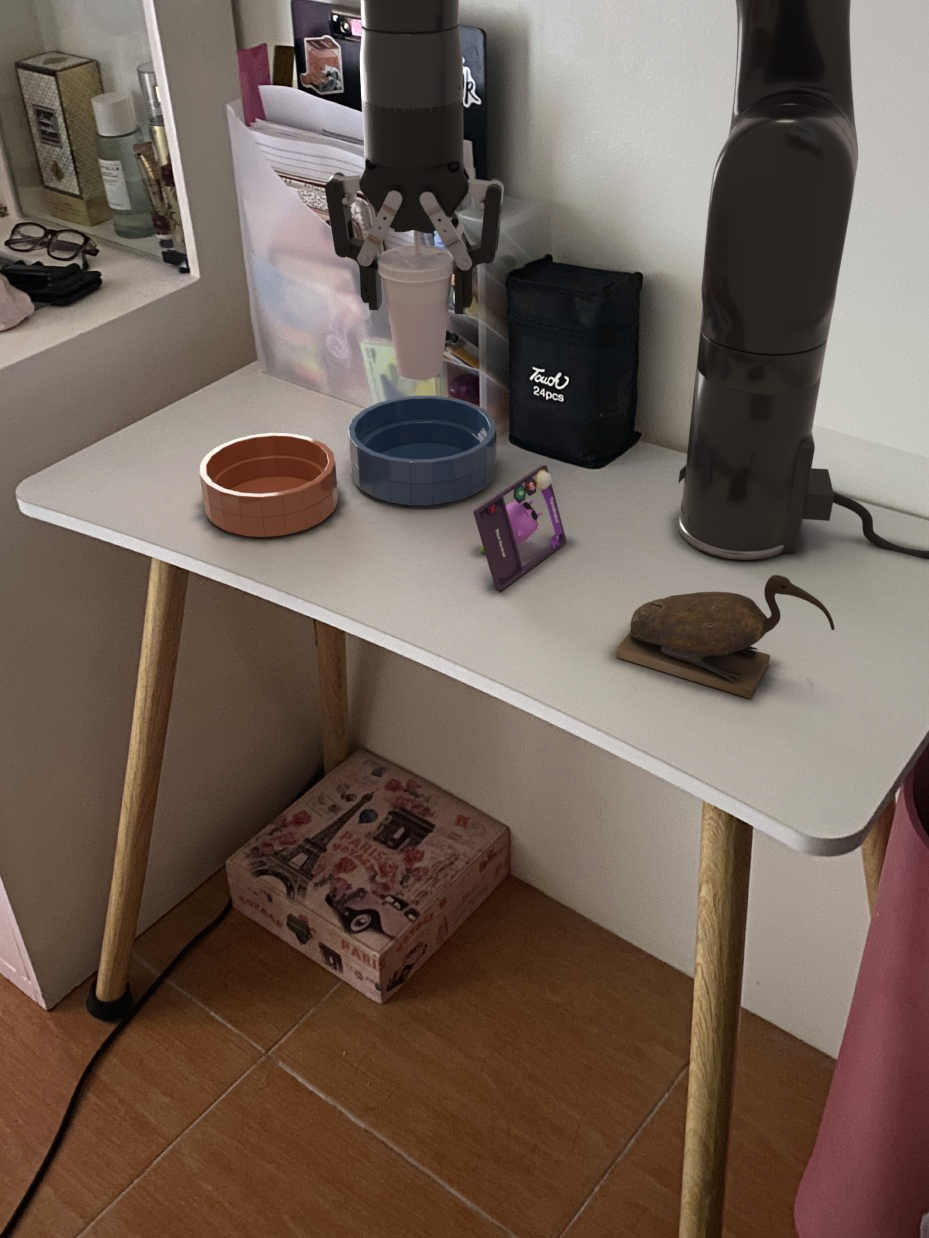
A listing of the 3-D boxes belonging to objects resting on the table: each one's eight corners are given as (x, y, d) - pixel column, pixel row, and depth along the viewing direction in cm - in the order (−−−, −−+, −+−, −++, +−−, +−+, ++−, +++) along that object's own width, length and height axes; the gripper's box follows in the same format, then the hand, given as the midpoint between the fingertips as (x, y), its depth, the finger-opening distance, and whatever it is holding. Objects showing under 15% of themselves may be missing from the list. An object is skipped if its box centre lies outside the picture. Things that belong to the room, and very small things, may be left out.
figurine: (829, 681, 84) (851, 576, 79) (810, 719, 81) (832, 611, 76) (639, 625, 90) (648, 523, 84) (615, 658, 86) (622, 554, 81)
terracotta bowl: (349, 476, 108) (346, 436, 106) (321, 543, 99) (318, 500, 97) (227, 470, 110) (221, 429, 107) (188, 535, 100) (181, 492, 98)
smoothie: (461, 356, 105) (460, 191, 97) (454, 388, 100) (451, 216, 92) (388, 354, 106) (380, 189, 98) (376, 385, 101) (367, 214, 93)
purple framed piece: (483, 510, 90) (553, 463, 96) (432, 510, 94) (503, 465, 99) (507, 591, 93) (574, 542, 98) (457, 588, 96) (524, 540, 102)
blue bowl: (502, 443, 113) (503, 398, 111) (486, 513, 103) (487, 466, 100) (366, 436, 115) (364, 392, 112) (337, 505, 104) (334, 458, 102)
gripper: (305, 101, 88) (321, 323, 98) (504, 106, 86) (501, 331, 96) (327, 78, 94) (341, 289, 104) (514, 83, 92) (510, 296, 102)
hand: (418, 308), depth 100 cm, fingers closed on smoothie, 6 cm apart
